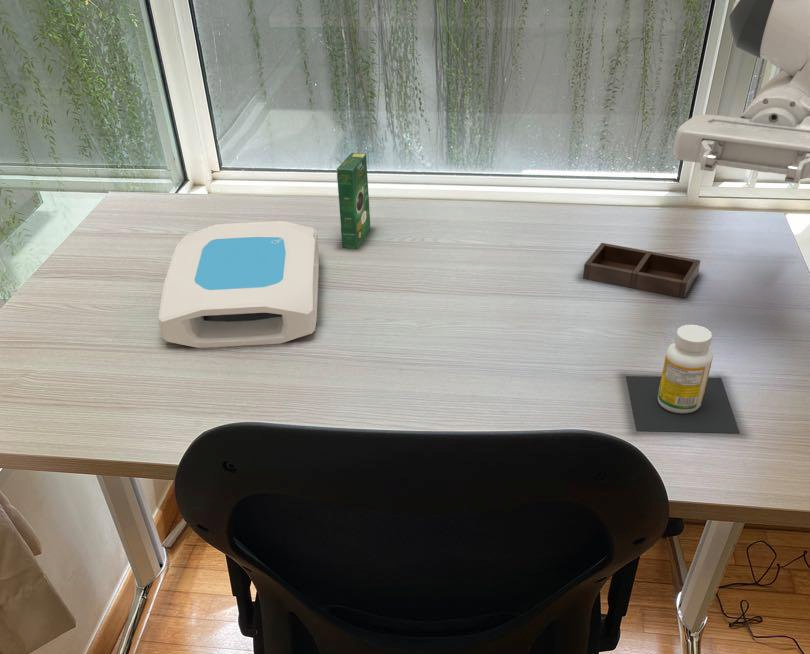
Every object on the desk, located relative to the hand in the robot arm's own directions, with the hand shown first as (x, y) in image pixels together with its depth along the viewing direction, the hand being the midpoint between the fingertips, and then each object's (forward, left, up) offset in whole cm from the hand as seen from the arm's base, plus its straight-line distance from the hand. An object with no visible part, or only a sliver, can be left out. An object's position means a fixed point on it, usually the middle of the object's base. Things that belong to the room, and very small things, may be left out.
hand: (749, 169), depth 99 cm
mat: (+5, +11, -25) cm, 28 cm away
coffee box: (+51, -36, -25) cm, 67 cm away
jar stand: (+6, -23, -25) cm, 34 cm away
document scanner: (+65, -15, -25) cm, 71 cm away
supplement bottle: (+5, +11, -24) cm, 27 cm away
